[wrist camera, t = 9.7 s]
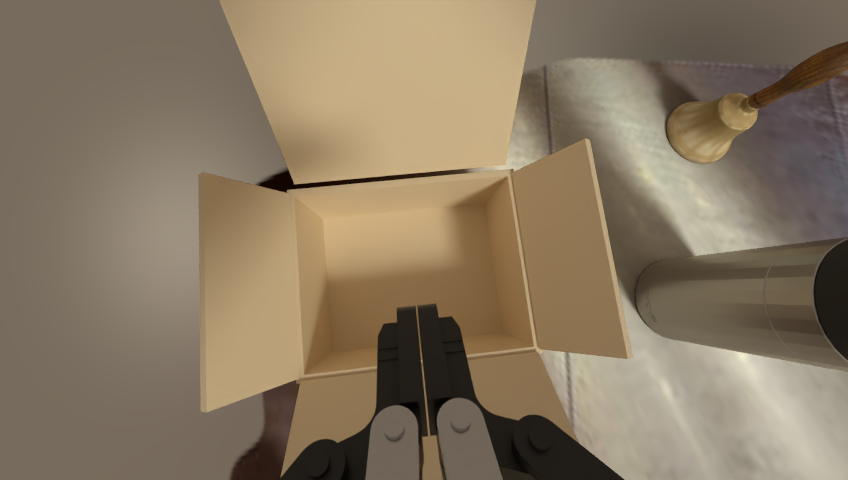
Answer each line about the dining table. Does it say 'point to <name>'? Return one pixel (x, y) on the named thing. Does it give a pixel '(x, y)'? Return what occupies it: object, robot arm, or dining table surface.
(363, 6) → the front flap
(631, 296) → the dining table surface
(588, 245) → the carton
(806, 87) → the hand bell
